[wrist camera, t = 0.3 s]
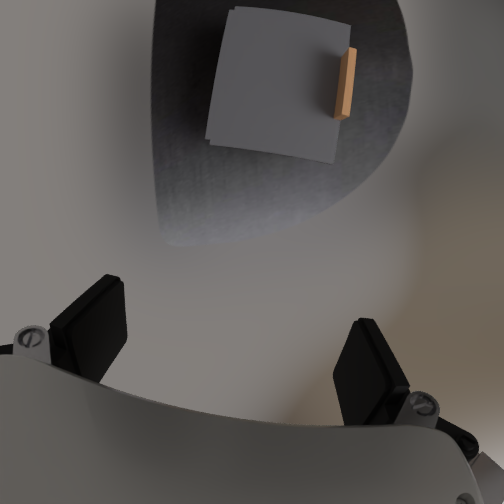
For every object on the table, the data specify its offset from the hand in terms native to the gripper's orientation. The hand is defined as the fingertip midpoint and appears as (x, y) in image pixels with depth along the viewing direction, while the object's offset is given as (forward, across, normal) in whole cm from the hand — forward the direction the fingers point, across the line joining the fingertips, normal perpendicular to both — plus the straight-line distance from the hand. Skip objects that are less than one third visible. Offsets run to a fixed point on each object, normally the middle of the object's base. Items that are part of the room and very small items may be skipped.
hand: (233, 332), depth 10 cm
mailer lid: (+24, 0, -16) cm, 29 cm away
